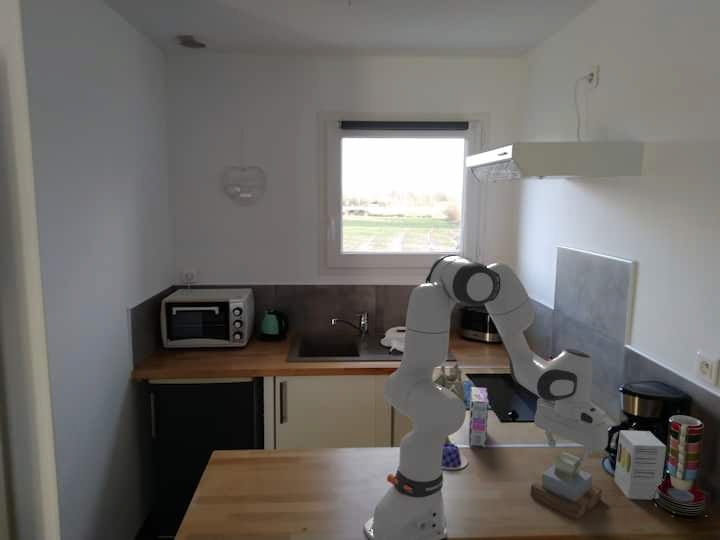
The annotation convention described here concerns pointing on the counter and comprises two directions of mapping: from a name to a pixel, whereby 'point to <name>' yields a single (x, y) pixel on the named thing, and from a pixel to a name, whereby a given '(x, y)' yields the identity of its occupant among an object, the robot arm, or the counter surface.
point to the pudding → (452, 457)
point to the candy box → (478, 417)
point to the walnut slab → (566, 499)
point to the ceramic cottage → (451, 381)
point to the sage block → (567, 466)
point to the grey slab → (567, 484)
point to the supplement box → (639, 464)
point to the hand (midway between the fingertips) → (567, 452)
